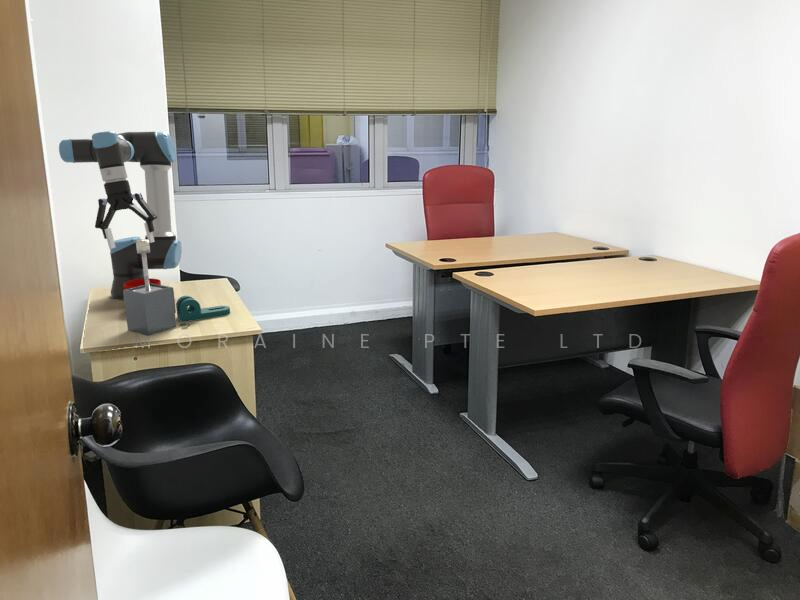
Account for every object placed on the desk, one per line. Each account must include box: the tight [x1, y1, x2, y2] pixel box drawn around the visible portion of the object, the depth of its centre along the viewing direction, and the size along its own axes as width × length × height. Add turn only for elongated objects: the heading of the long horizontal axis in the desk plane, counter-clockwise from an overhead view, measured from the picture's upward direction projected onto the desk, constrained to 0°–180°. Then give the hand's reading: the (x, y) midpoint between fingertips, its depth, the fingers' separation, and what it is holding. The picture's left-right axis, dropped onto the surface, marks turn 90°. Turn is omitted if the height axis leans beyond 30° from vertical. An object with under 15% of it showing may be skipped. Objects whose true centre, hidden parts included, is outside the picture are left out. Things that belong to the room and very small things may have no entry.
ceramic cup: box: [124, 278, 162, 290], centre depth 236 cm, size 13×17×10 cm
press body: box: [123, 283, 177, 337], centre depth 212 cm, size 15×11×14 cm
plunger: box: [131, 238, 165, 293], centre depth 207 cm, size 9×9×17 cm
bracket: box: [175, 295, 231, 323], centre depth 226 cm, size 18×7×8 cm, turn 123°
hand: (132, 245), depth 209 cm, fingers open, 13 cm apart
